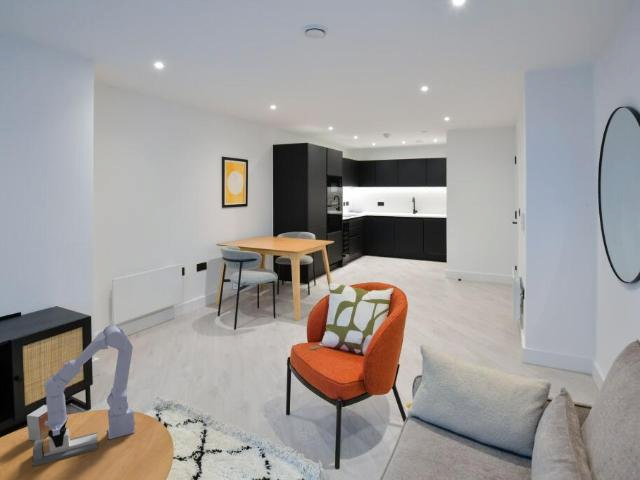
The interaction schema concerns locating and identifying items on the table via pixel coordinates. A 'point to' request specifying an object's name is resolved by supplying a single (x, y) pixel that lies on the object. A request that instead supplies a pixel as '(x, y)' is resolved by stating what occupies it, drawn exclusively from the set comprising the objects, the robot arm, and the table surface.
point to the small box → (38, 424)
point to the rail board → (74, 448)
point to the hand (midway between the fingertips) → (59, 442)
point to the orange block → (46, 446)
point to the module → (65, 442)
